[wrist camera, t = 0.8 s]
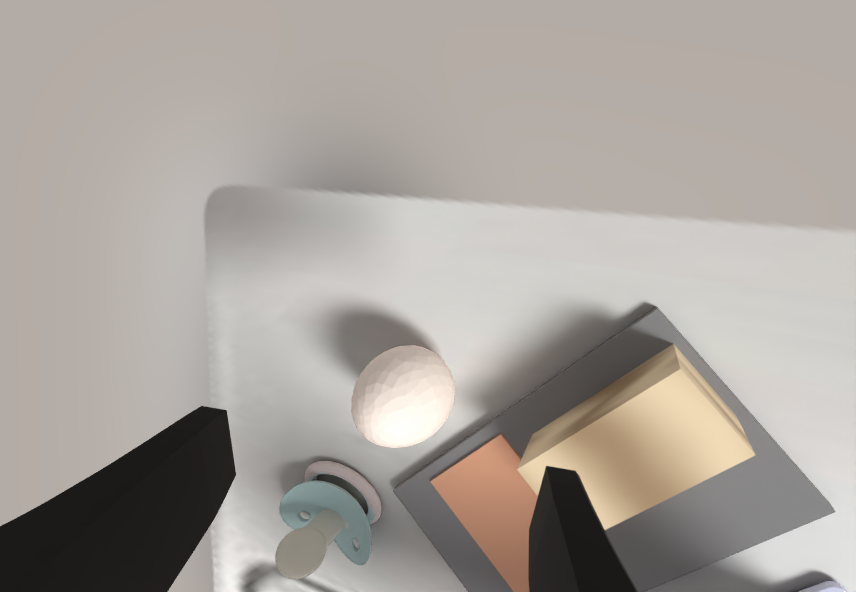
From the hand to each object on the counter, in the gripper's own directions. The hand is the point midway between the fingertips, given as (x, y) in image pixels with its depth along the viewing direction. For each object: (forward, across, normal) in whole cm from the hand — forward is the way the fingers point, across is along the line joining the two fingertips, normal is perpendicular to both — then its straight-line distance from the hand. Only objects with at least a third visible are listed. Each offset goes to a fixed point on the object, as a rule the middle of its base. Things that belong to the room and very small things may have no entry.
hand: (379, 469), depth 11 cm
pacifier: (+16, +6, +21) cm, 27 cm away
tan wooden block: (+13, -10, +8) cm, 19 cm away
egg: (+17, 0, +10) cm, 19 cm away
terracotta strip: (+12, -6, +16) cm, 21 cm away
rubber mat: (+13, -9, +13) cm, 21 cm away
